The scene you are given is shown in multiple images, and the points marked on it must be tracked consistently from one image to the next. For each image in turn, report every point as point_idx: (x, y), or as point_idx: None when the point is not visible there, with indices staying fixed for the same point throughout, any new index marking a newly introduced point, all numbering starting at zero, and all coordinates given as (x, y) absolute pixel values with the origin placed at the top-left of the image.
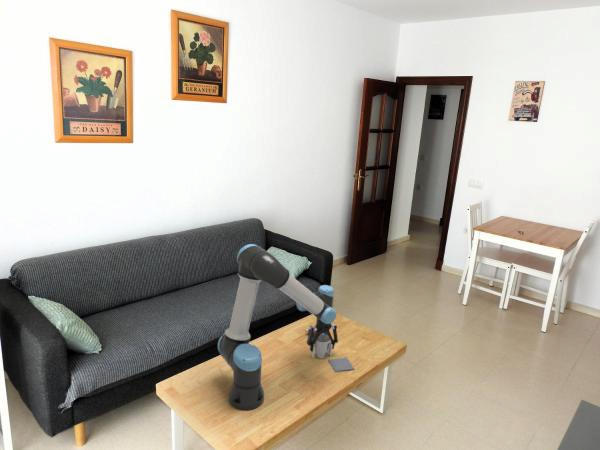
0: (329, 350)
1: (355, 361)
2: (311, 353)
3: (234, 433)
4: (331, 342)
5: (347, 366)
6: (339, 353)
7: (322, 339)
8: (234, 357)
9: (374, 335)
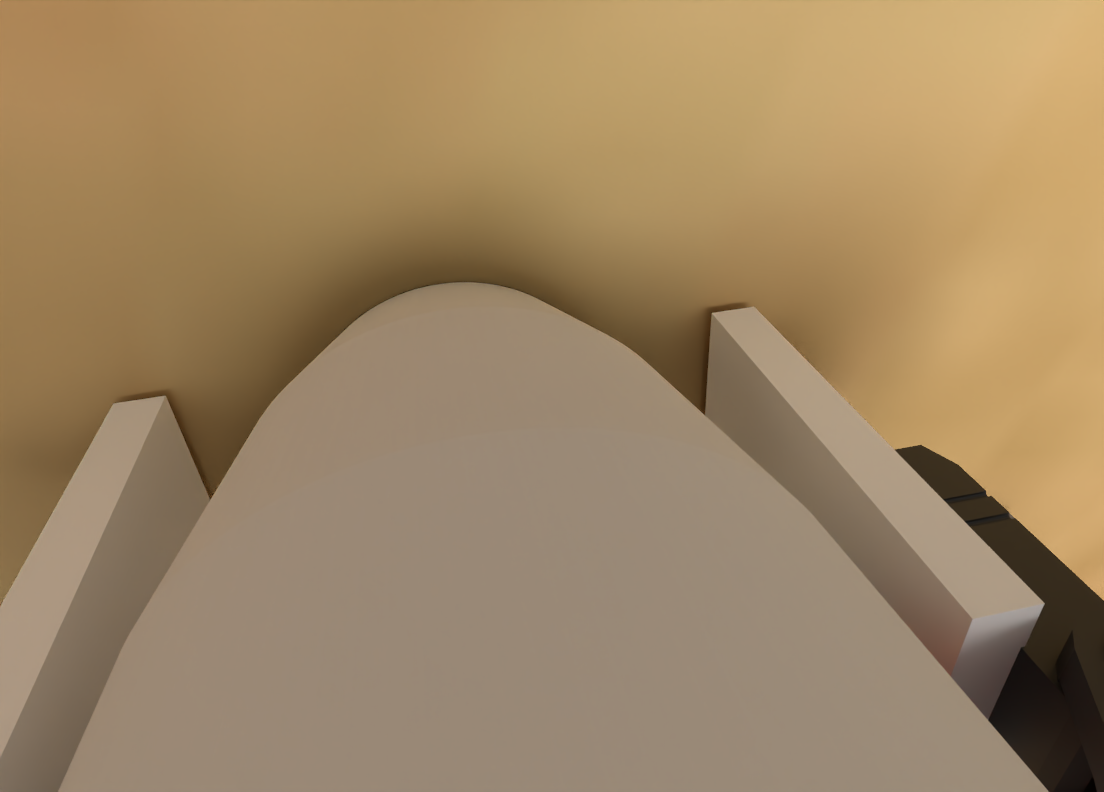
0: (765, 444)
1: (1095, 570)
2: (96, 464)
3: None
4: (1033, 714)
5: None
6: (1000, 303)
7: (691, 575)
8: None
9: None
